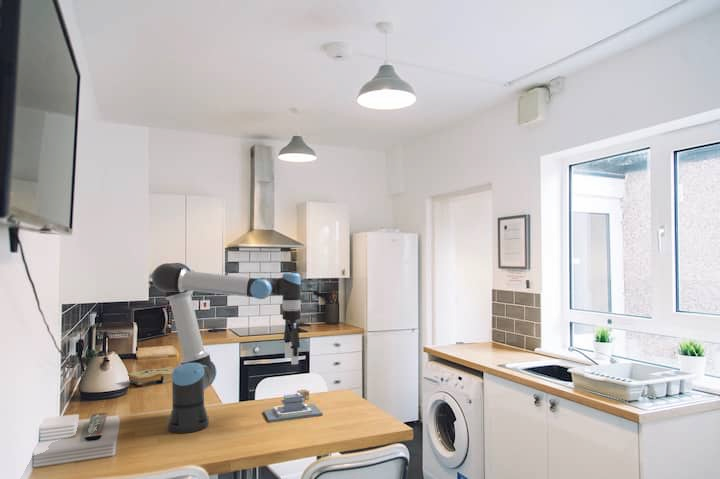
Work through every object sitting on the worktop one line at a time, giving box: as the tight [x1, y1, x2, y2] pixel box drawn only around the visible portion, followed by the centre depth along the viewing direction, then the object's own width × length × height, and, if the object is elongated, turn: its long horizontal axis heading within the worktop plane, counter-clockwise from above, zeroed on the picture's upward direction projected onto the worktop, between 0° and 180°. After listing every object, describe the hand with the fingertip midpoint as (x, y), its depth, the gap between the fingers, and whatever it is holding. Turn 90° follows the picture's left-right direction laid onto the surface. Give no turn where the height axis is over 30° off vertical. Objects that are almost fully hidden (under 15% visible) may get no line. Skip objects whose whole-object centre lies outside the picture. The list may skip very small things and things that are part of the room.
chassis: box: [262, 402, 324, 423], centre depth 206 cm, size 22×14×2 cm, turn 110°
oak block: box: [296, 389, 310, 401], centre depth 227 cm, size 4×4×4 cm
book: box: [127, 365, 176, 388], centre depth 265 cm, size 25×17×6 cm
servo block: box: [280, 392, 306, 413], centre depth 206 cm, size 9×4×7 cm, turn 110°
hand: (291, 361), depth 206 cm, fingers open, 13 cm apart
